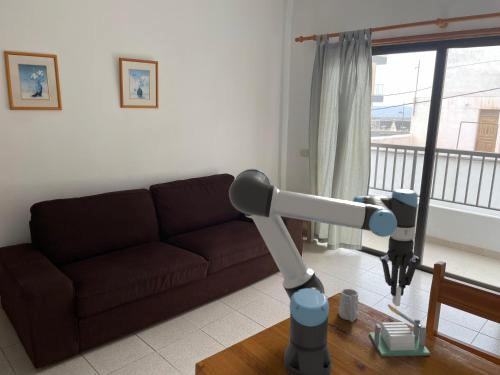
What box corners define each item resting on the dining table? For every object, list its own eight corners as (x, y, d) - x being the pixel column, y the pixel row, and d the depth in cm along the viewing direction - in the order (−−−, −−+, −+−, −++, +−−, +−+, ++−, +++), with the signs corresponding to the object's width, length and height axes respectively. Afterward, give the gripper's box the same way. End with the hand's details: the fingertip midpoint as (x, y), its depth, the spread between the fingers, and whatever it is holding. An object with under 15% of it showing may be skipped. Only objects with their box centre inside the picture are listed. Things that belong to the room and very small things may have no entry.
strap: (390, 311, 127) (393, 307, 127) (386, 306, 131) (389, 303, 130) (422, 332, 130) (425, 329, 129) (418, 327, 133) (420, 323, 132)
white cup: (355, 310, 154) (357, 282, 151) (363, 327, 142) (365, 297, 140) (336, 310, 154) (337, 282, 152) (342, 327, 143) (344, 297, 140)
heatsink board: (381, 356, 126) (383, 334, 124) (369, 334, 138) (370, 314, 136) (429, 355, 126) (431, 333, 125) (413, 333, 138) (415, 313, 136)
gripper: (385, 241, 120) (380, 310, 125) (427, 241, 120) (420, 309, 125) (377, 233, 127) (372, 298, 132) (416, 233, 127) (410, 298, 133)
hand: (396, 303), depth 129 cm, fingers closed
